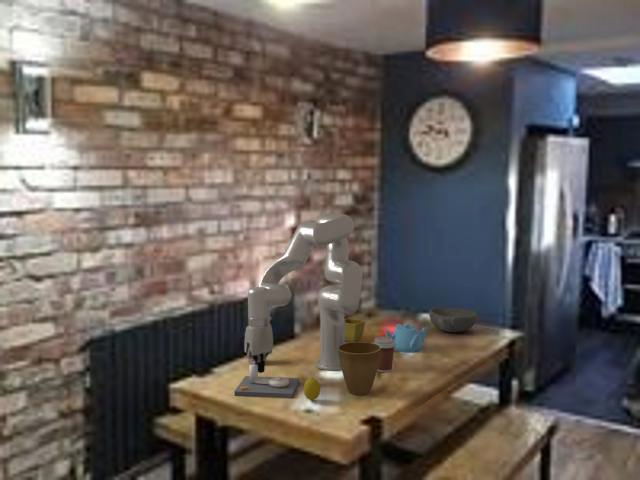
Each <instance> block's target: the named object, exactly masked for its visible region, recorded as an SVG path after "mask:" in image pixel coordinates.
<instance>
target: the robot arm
mask: <svg viewBox="0 0 640 480" xmlns="http://www.w3.org/2000/svg"><path fill="white" fill-rule="evenodd" d="M353 220H354V219H353V218H352V217H351V216H350V215H348V214H343V213H331V212H323V213H320V214H319V215H318V216H317V217H316V218H315V222H314V221H303V222H300V224H299V225H298V226H297V227H296V229H295V231H294V234H293V236H292V237H291V239H290V241H289V243H288V245H287V246H286V249H285V251H284V253H283V254H282V256H280V257H279V258H278V259H277V260H276V261H274V262H273V264H271V265H270V266H269V267H268V268H267V270H265V272H264V274H263V276H262V277H261V280H260V282H259V283H258V286H254V287H250V288H249V289H248V291H247V314H248V315H247V317H248V325H247V326H246V328H245V333H244V345H243V346H244V353H246V359H248V358H249V359H253V360H254V361H255V364H256V365H258V374H263V373H265V372H266V371H265V369H266V368H265V367H266V366H265V364H266V362H267V357H268V356H269V355H271V354H272V353H273V349H274V335H273V334H274V333H273V328H272V324H270V323H271V322H270V321H271V320H272V316H271V315H270V308H271V307H284V306H286V305H288V304H289V303H290V302H291V299H292V291H291V290H290V289H289V288H288V287H287V286H285V285H281V284H279V283H280V281H281V280H282V279H283V278H284V277H285V276H286V275H288V274H290V273H292V272H294V271H297V270H299V269H301V268H303V267H304V265H305V264H306V261H307V260H308V258H309V256H310V253H311V251H312V250H313V248H314V246H316V247H325V246H326V256H325V265H324V277H325V279H326V281H328V282H330V283H334V284H338V285H340V286H336V285H335V286H334V285H327V286H324V287H322V288H321V290H320V291H319V292H318V296H317V304H318V307H319V313H320V314H319V317H320V360H318V361H316V367H317V368H318V369H320V370H326V371H340V370H341V371H342V369H341V365H340V360H339V354H338V346H339V345H341V344H344V343H346V341H345V316H344V315H346V316H347V315H348V316H349V315H353V314H354V313H355V312H356V311H357V310H358V308H359V305H360V299H361V293H362V292H361V291H362V283H363V270H362V268H361V265H359V264H358V263H357V262H356V261H353V260H349V254H350V253H349V251H350V244H349V240H348V237H349V236H350V235H351V234H352V233H353V232H354V230H355V223H354V221H353ZM264 361H266V362H264Z"/></svg>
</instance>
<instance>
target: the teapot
mask: <svg viewBox="0 0 640 480" xmlns="http://www.w3.org/2000/svg"><path fill="white" fill-rule="evenodd" d="M427 331H428V327H427V326H425V327H422V329H421V330H420V332H419V330H418V329H417V328H416V327H415V326H411V324H409V323H403V325H402V324H401V323H396V326H395V330H394V331H393V333H392V334H391V332H390V331H389V330H385V331H384V333H385V335H386V336H385V337H389V338H392V339H393V342H395V343H396V346H395V347H394V351H396V352H401V353H415V352H419V351H420V350H421V349H422V347H423V345H424V342H425V339H426V336H427Z"/></svg>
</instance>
